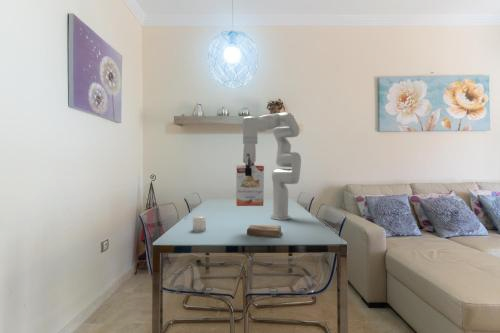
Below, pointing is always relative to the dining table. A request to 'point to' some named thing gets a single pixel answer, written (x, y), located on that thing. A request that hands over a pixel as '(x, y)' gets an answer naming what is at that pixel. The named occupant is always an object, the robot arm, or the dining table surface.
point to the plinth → (264, 230)
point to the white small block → (199, 223)
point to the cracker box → (250, 186)
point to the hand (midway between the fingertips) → (250, 175)
